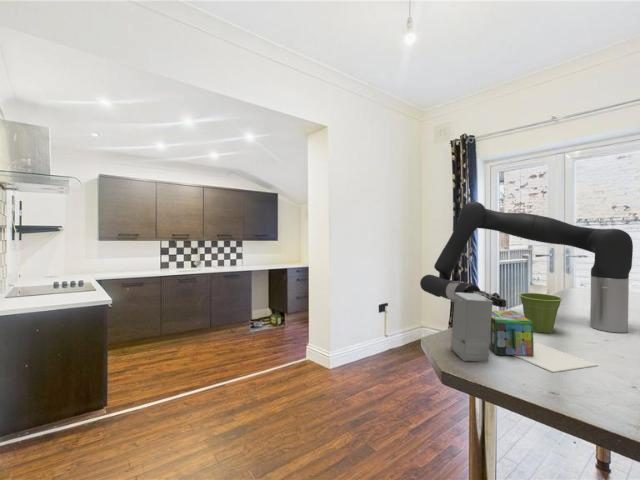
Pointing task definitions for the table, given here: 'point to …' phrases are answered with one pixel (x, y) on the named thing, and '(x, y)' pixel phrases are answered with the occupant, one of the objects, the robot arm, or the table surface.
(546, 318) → the plant pot
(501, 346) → the chalk box
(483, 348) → the skincare box
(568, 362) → the mat
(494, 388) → the table surface
